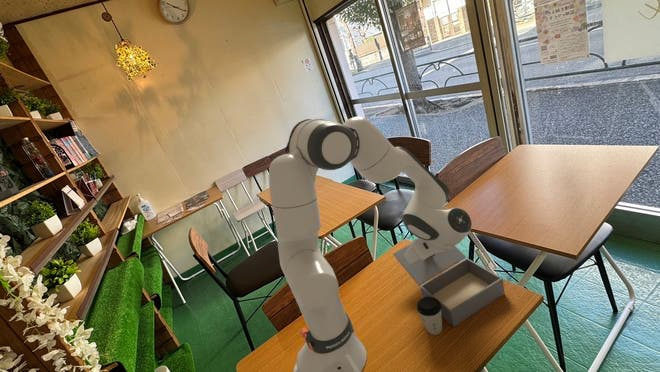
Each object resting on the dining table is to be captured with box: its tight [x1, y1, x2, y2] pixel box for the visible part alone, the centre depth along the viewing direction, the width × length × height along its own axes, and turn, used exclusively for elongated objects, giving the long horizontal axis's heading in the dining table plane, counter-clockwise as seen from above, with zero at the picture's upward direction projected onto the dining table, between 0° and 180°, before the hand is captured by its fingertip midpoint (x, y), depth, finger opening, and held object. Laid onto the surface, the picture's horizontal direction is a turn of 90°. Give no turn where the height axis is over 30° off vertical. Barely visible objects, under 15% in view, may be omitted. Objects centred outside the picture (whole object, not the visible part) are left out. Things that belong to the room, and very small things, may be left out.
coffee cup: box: [416, 297, 443, 336], centre depth 90 cm, size 7×7×10 cm
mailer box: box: [419, 257, 506, 328], centre depth 98 cm, size 20×14×6 cm
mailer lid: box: [392, 243, 467, 286], centre depth 108 cm, size 20×14×1 cm
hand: (425, 251), depth 109 cm, fingers closed, pressing on mailer lid
